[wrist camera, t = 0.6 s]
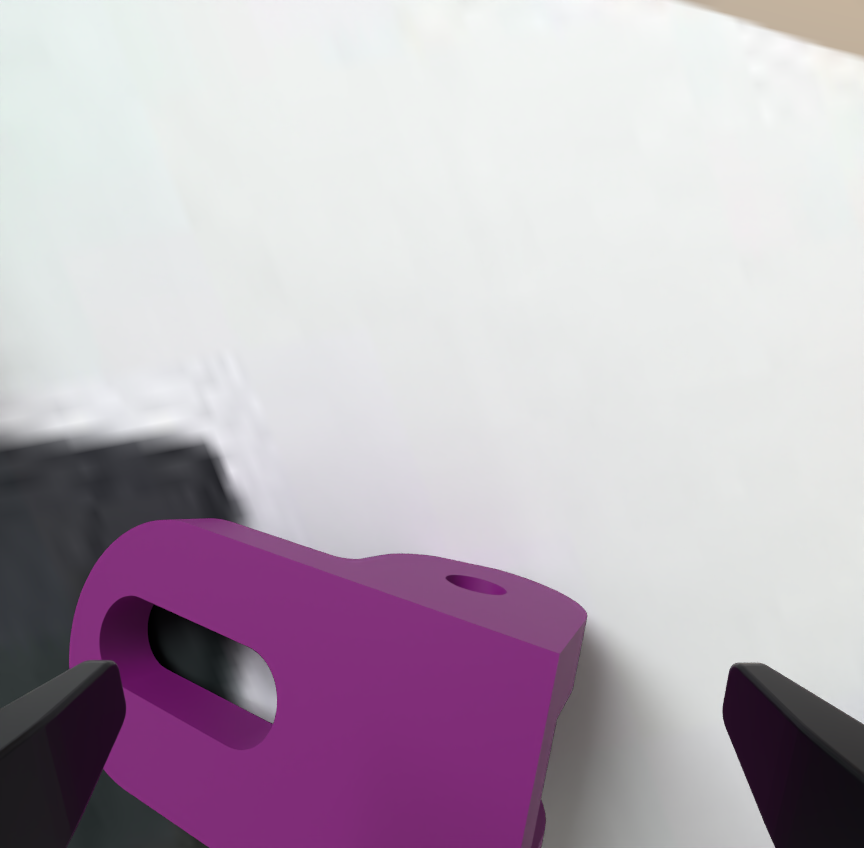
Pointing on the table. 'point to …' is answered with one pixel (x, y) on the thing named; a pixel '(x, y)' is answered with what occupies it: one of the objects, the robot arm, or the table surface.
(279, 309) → the table surface
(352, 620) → the mounting bracket
